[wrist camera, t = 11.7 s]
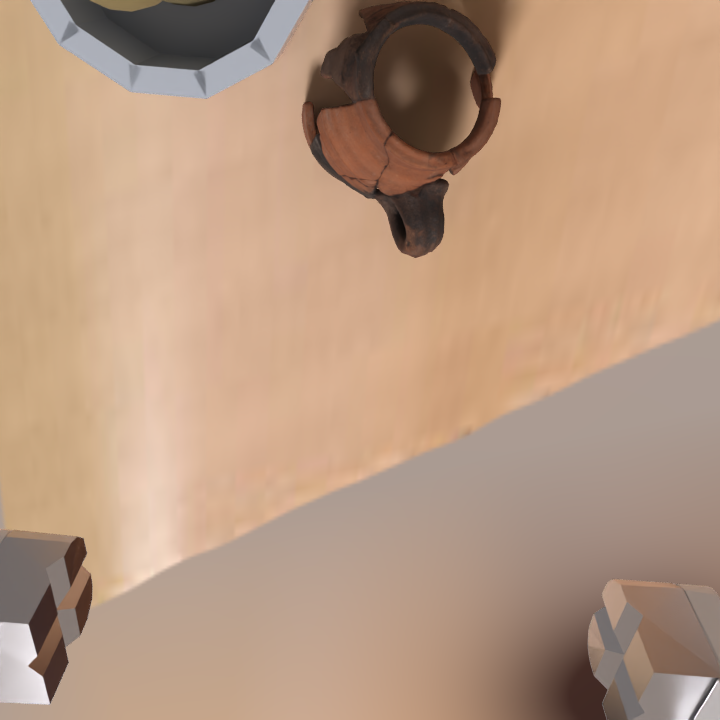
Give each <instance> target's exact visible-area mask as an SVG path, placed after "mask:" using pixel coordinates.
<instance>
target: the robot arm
mask: <svg viewBox="0 0 720 720" xmlns="http://www.w3.org/2000/svg"><path fill="white" fill-rule="evenodd" d="M86 555H87V551H86V547H85V543H84V538H81V537H76V536H66V535H57V534H48V533H38V532H29V531H20V530H7V529H0V702H7V703H27V704H49V705H50V704H51V701H52V699H53V697H54V695H55V692H56V690H57V688H58V685H59V683H60V681H61V679H62V677H63V674H64V672H65V670H66V667H67V665H68V663H69V662H68V657H67V653H66V648H65V647H66V646H68V645H69V644H70V643H72V642H73V641H74V640H75V639H77V638H78V637H79V636H80V635H81V633H82V630H83V628H84V626H85V623H86V621H87V619H88V614H89V610H90V606H91V601H92V579H91V573H89V572H88V571H87V570H86V569H85V568H84V567H83V566H82V563H83V561H84V559H85V557H86ZM602 597H603V600H604V603H605V607H603V608H602V609H600V610H599V611H597V612H596V613H594V615H593V618H592V621H591V623H590V626H589V632H588V633H589V634H588V651H589V659H590V663H591V667H592V670H593V674H594V676H595V677H596V678H597V679H598V680H599V681H600V682H601V683H602V684H603V685H604V686H605V688H607V690H608V692H607V694H606V696H605V698H604V701H603V703H602V705H603V708H604V711H605V715H606V718H607V720H720V598H719V596H718V594H717V593H716V592H715V591H714V590H713V589H712V588H711V587H709V586H699V585H686V584H673V583H664V582H650V581H635V580H620V579H612V580H611V581H609V582H608V583H607V584H606V587H605V588H604V591H603V593H602Z"/></svg>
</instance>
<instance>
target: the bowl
mask: <svg viewBox="0 0 720 720" xmlns="http://www.w3.org/2000/svg"><path fill="white" fill-rule="evenodd" d="M31 2H32V3H33V5H34V7H35V8H36V10H37V11H38V13H39V14H40V16H41V18H42V19H43V21H44V22H45V24H46V25H47V27H48V28H49V30H50V32H51V33H52V35H53V36H54V38H55V39H56V41H57V42H58V44H59V45H60V46H62V47H63V48H65V49H66V50H68V51H69V52H71V53H72V54H74V55H75V56H77V57H78V58H80V59H81V60H83V61H84V62H86V63H87V64H89V65H90V66H92V67H93V68H95V69H97V70H98V71H100V72H101V73H103V74H104V75H106V76H107V77H109V78H110V79H112V80H113V81H115V82H116V83H118V84H119V85H121V86H122V87H124V88H125V89H127V90H128V91H130V92H135V93H147V94H158V95H170V96H181V97H192V98H204V99H206V98H209V97H211V96H213V95H215V94H217V93H218V92H220V91H222V90H224V89H226V88H228V87H230V86H232V85H233V84H235V83H237V82H239V81H241V80H243V79H245V78H247V77H249V76H250V75H252V74H254V73H256V72H258V71H260V70H262V69H264V68H265V67H267V66H269V65H271V64H273V63H274V62H275V60H276V59H277V58H278V57H279V56H280V55H281V54H282V53H283V52H284V50H285V49H286V47H287V45H288V43H289V42H290V40H291V38H292V36H293V35H294V33H295V31H296V29H297V28H298V26H299V24H300V22H301V21H302V19H303V17H304V16H305V14H306V12H307V10H308V9H309V7H310V5H311V3H312V2H313V0H215V1H214V2H211V3H207V4H203V5H199V6H195V7H194V6H184V5H175V4H172V3H169V2H165V1H162V2H160V3H159V4H158V5H155V6H152V7H148V8H144V9H140V10H136V11H133V12H130V11H120V10H110V9H108V8H105V7H103V6H101V5H99V4H96V3H94V2H92V1H90V0H31Z"/></svg>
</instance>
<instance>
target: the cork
mask: <svg viewBox="0 0 720 720" xmlns="http://www.w3.org/2000/svg"><path fill="white" fill-rule="evenodd" d="M90 1H92V2H94V3H96V4H99V5H101V6H103V7H105V8H108V9H110V10H120V11H130V12H133V11H136V10H140V9H144V8H148V7H152V6H155V5H158V4H159V3H160V2H162V1H165V2H169V3H172V4H175V5H184V6H194V7H195V6H199V5H203V4H207V3H211V2H214V1H215V0H90Z"/></svg>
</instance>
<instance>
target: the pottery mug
mask: <svg viewBox="0 0 720 720" xmlns="http://www.w3.org/2000/svg"><path fill="white" fill-rule="evenodd" d="M359 15H360V17H361V18H363V19H364V23H365V25H366V28H367V32H366V33H362V34H354V35H352V36H350V37H348V38H346V39H344V40H343V41H342V42H341V43H340V45H339V46H338V47H337V48H335V49H332V50H330V51H329V52H328V53H327V54H326V56H325V59H324V62H323V65H322V68H321V76H322V77H324V78H328V79H332V78H333V80H334V82H335V83H336V84H337V85H338V86H339V87H341V88H342V89H343V90H344V92H345V93H346V94H347V95H348V96H349V97H350V99H351V100H352V104H347V105H342V106H338V107H332V108H323V109H321V112H320V113H319V115H318V118H317V126H318V130H319V133H320V134H317V132H316V127H315V120H314V107H313V104H312V103H311V102H305V103H304V104H303V109H302V123H303V129H304V133H305V137H306V140H307V143H308V145H309V147H310V149H311V152H312V154H313V155H314V157H315V159H316V160H317V161H318V162H319V164H320V165H321V166H322V167H323V168H324V169H325V170H326V171H327V172H328V173H329V174H331V175H332V176H333V177H335V178H337V179H338V180H340V181H342V182H344V183H345V184H346V185H347V186H349V187H350V188H352V189H353V190H355V191H357V192H359V193H360V194H362V195H364V196H365V197H366V198H371V199H376V200H377V201H378V202H379V203H380V204H381V205H382V207H383V208H384V210H385V212H386V214H387V216H388V220H389V224H390V228H391V231H392V235H393V238H394V240H395V243H396V245H397V247H398V249H399V250H400V251H401V252H402V253H404V254H407V255H410V256H412V257H414V258H417V257H420V256H423V255H426V254H427V253H428V252H432V251H433V250H434V249H435V248H436V247H437V246H438V245H439V244H440V242H441V240H442V238H443V234H444V213H443V199H444V195H445V193H446V192H447V190H448V186H449V184H448V182H447V181H446V180H444V179H441V177H442V176H443V174H444V173H445V172H447V171H448V170H449V171H450V173H451V174H452V175H455V174H457V173H458V172H459V171H460V170H461V169H462V168H463V167H464V166H465V165H466V164H467V163H468V161H469V160H470V159H471V157H473V156H474V155H475V154H476V153H477V152H479V151H480V150H481V149H482V148H483V146H484V145H485V144H486V143H487V141H488V140H489V138H490V136H491V135H492V133H493V131H494V128H495V127H496V125H497V122H498V117H499V113H500V107H501V100H500V98H493V92H492V82H491V78H490V75H489V73H490V72H492V70H493V68H494V66H495V63H496V57H495V54H494V52H493V50H492V48H491V46H490V44H489V43H488V41H487V39H486V38H485V37H484V36H483V35H482V33H481V32H480V30H479V29H478V28H477V26H475V25H474V24H473V23H472V22H471V21H470V20H469V19H468V18H467V17H465V16H464V15H462V14H461V13H459V12H457V11H455V10H453V9H450V10H449V9H448V8H447V7H446V6H444V5H440V4H438V3H435V2H398V3H392V4H385V5H379V6H371V7H368V8H365V9H362V10H360V11H359ZM414 24H425V25H431V26H433V27H436V28H439V29H441V30H442V31H444V32H446V33H448V34H449V35H451V36H452V37H453V38H454V39H456V40H457V41H458V42H459V43H460V45H462V47H463V48H464V49H465V51H466V52H467V53H468V55H469V57H470V58H471V60H472V62H473V64H474V67H475V71H474V73H473V76H472V78H471V81H470V84H471V89H472V92H473V96H474V99H475V101H476V104H477V106H478V107H479V108H480V109H479V114H478V118H477V121H476V123H475V125H474V128H473V129H472V131H471V133H470V134H469V136H468V137H467V138H466V139H465V140H464V141H463V142H462V143H461V144H459V145H458V146H456V147H454V148H452V149H450V150H448V151H445V152H437V153H433V152H426V151H422V150H419V149H416V148H414V147H412V146H410V145H409V144H407V143H405V142H404V141H403V140H401V139H400V138H399V137H398V136H397V135H396V134H395V133H394V132H393V131H392V130H391V128H390V127H389V126H388V124H387V123H386V121H385V120H384V118H383V116H382V114H381V111H380V109H379V106H378V103H377V100H376V98H375V96H374V84H373V76H374V67H375V63H376V59H377V57H378V54H379V51H380V50H381V47H382V46H383V44H384V43H385V41H386V40H387V38H388V37H389V36H390V35H391V34H392V33H394V32H395V31H396V30H398V29H400V28H402V27H405V26H408V25H414ZM377 188H379V189H377Z"/></svg>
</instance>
